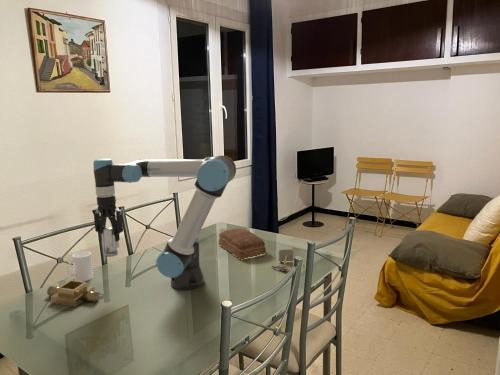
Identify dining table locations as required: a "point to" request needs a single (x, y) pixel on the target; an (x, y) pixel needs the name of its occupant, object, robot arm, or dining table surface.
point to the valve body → (72, 293)
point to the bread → (242, 243)
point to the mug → (81, 266)
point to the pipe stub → (109, 242)
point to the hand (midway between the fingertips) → (110, 247)
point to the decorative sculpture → (284, 258)
